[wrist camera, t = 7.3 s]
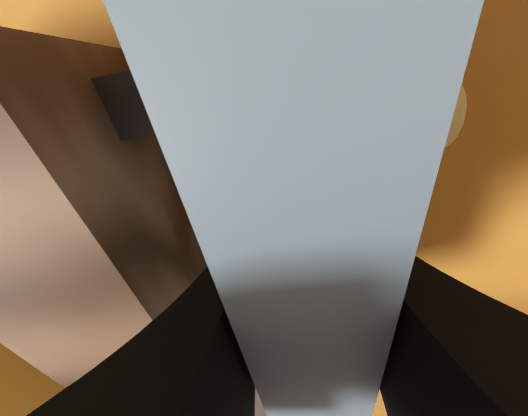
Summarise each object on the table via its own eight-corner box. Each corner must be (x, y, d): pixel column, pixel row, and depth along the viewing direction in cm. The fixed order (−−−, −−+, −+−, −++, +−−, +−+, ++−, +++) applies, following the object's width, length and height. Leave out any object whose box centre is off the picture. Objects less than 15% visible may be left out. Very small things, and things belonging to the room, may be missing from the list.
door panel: (339, 281, 15) (395, 455, 8) (278, 285, 15) (281, 453, 8) (348, 16, 8) (885, -425, 1) (234, 39, 8) (45, -146, 1)
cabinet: (345, 279, 16) (381, 379, 10) (124, 295, 18) (62, 386, 12) (361, 2, 8) (518, -133, 3) (-32, 83, 10) (-360, 91, 5)
